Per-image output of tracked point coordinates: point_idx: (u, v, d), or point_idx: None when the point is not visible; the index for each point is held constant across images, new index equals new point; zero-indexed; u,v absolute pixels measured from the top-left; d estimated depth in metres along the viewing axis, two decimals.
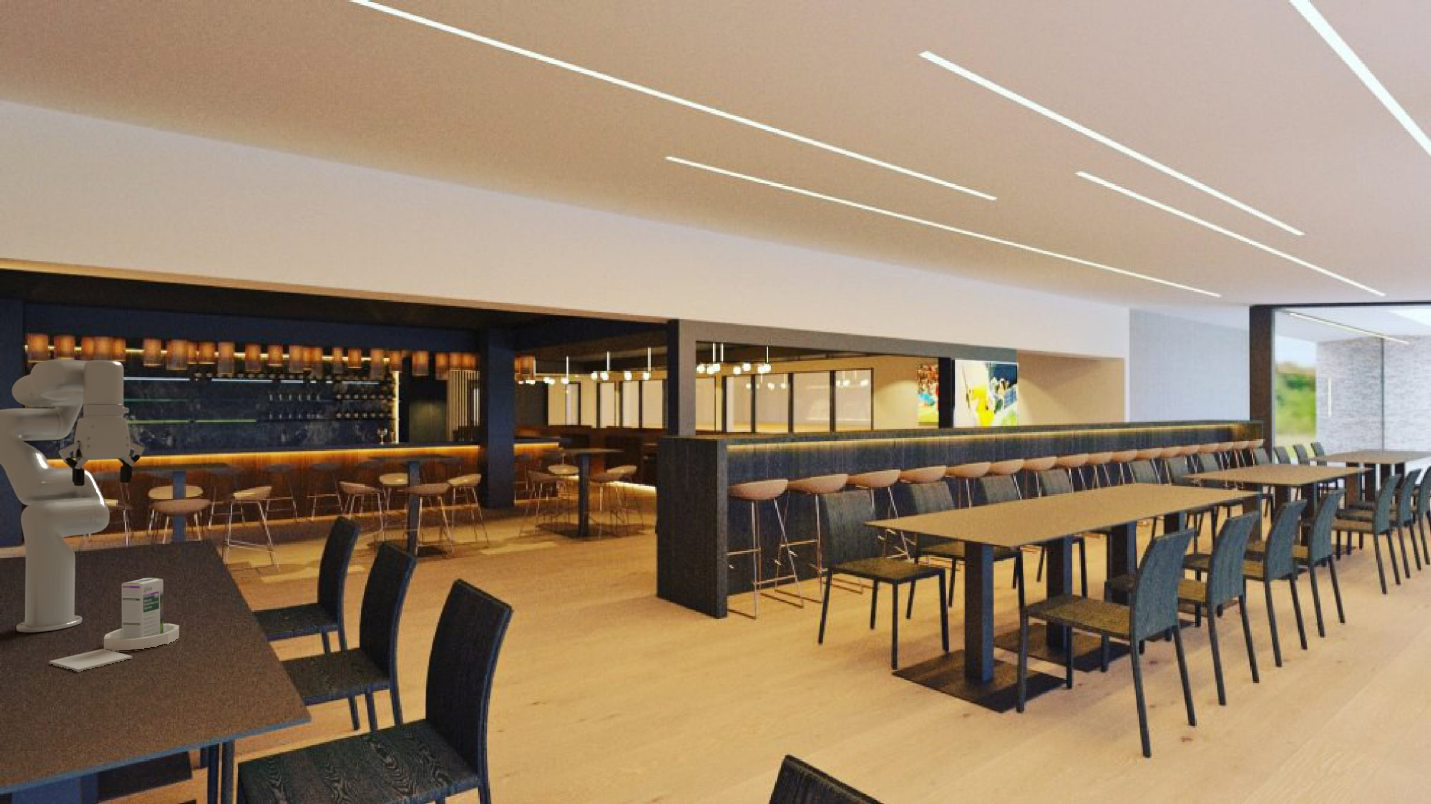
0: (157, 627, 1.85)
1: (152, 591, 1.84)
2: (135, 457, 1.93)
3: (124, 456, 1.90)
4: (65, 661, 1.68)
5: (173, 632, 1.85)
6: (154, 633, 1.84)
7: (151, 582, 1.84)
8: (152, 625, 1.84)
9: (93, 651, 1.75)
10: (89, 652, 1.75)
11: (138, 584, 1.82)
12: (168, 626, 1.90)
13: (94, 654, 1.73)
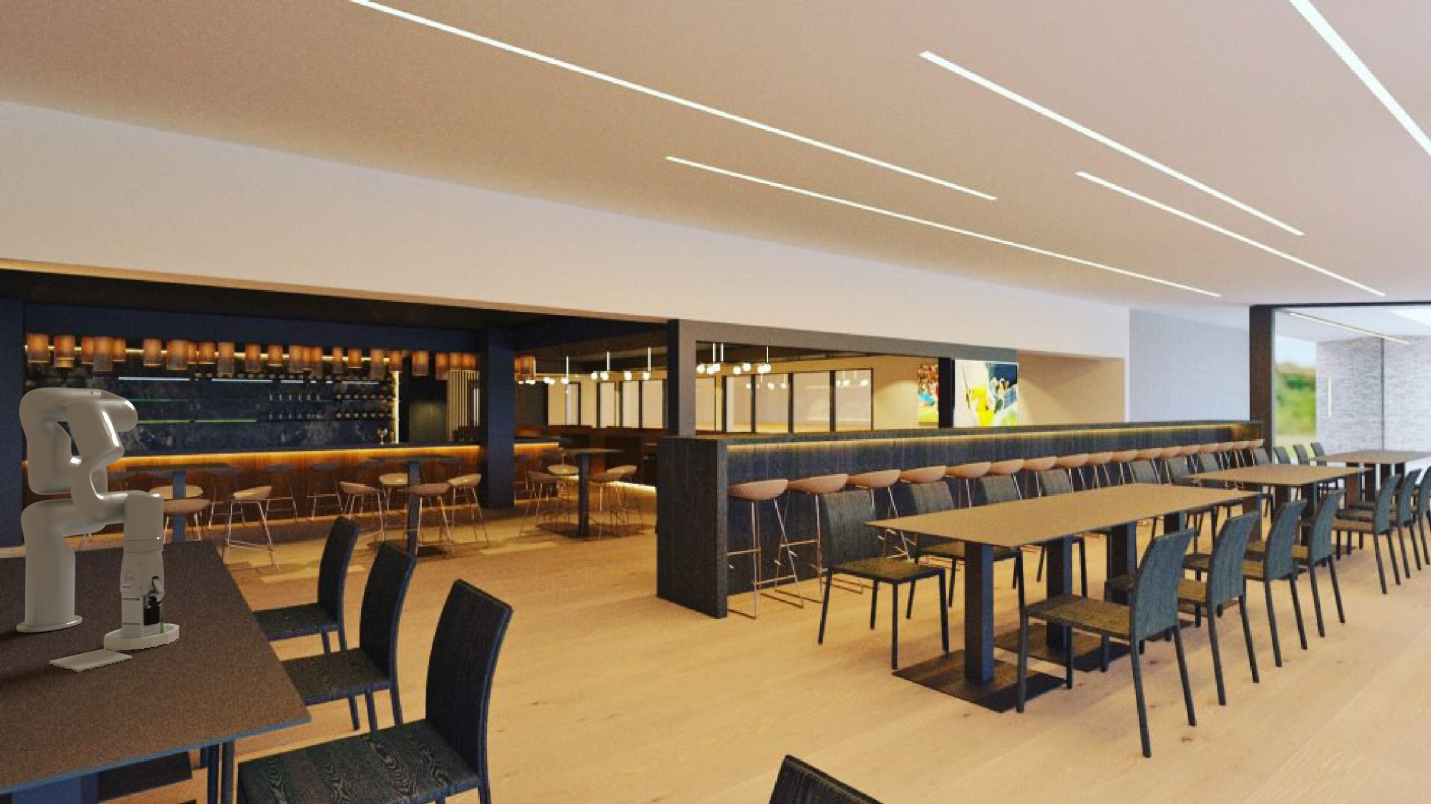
0: (157, 627, 1.85)
1: None
2: None
3: None
4: (65, 661, 1.68)
5: (173, 632, 1.85)
6: (154, 633, 1.84)
7: None
8: (152, 625, 1.84)
9: (93, 651, 1.75)
10: (89, 652, 1.75)
11: None
12: (168, 626, 1.90)
13: (94, 654, 1.73)
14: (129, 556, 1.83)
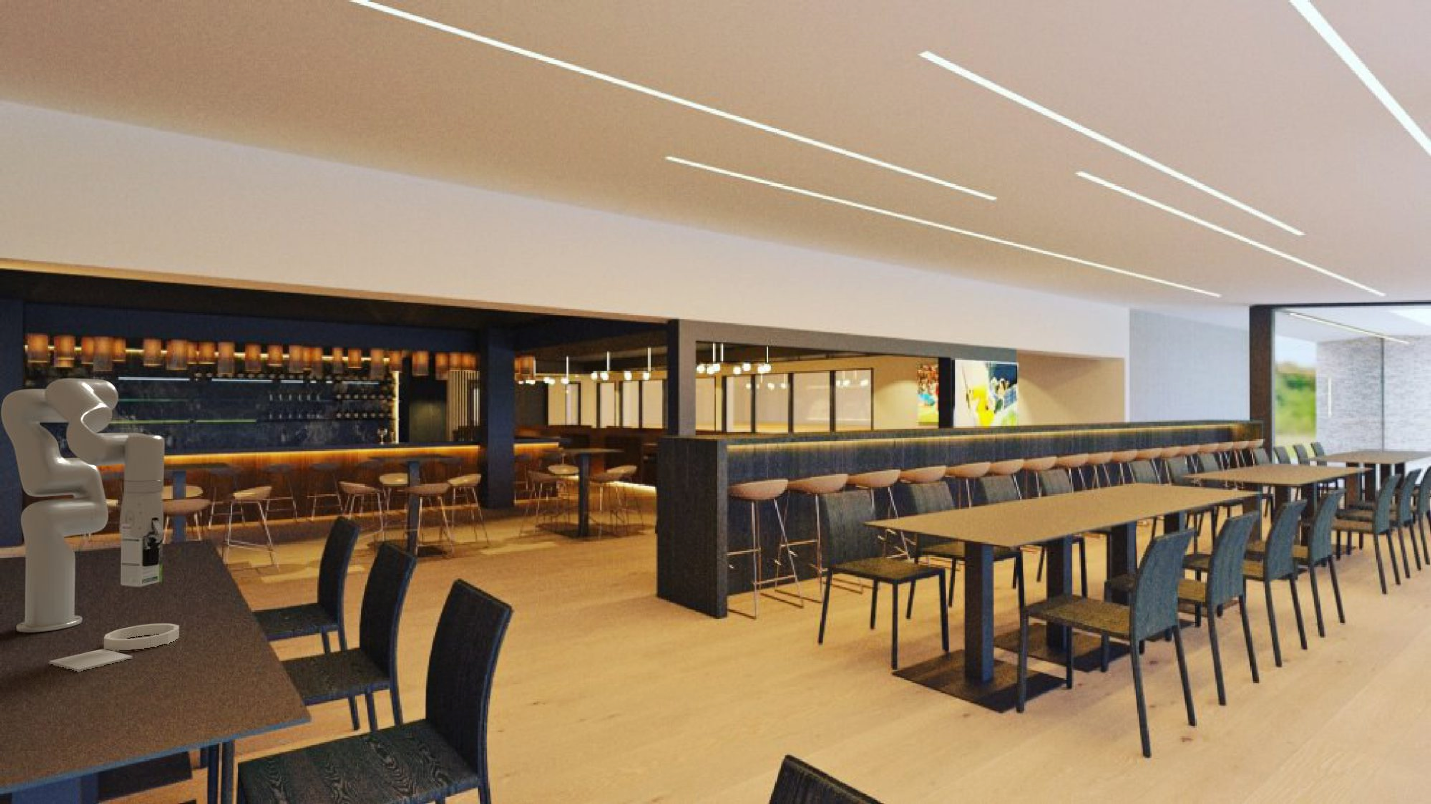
0: (156, 569, 1.85)
1: None
2: None
3: None
4: (65, 661, 1.68)
5: (173, 632, 1.85)
6: (153, 575, 1.85)
7: None
8: (151, 567, 1.84)
9: (93, 651, 1.75)
10: (89, 652, 1.75)
11: None
12: (168, 626, 1.90)
13: (94, 654, 1.73)
14: (129, 497, 1.83)
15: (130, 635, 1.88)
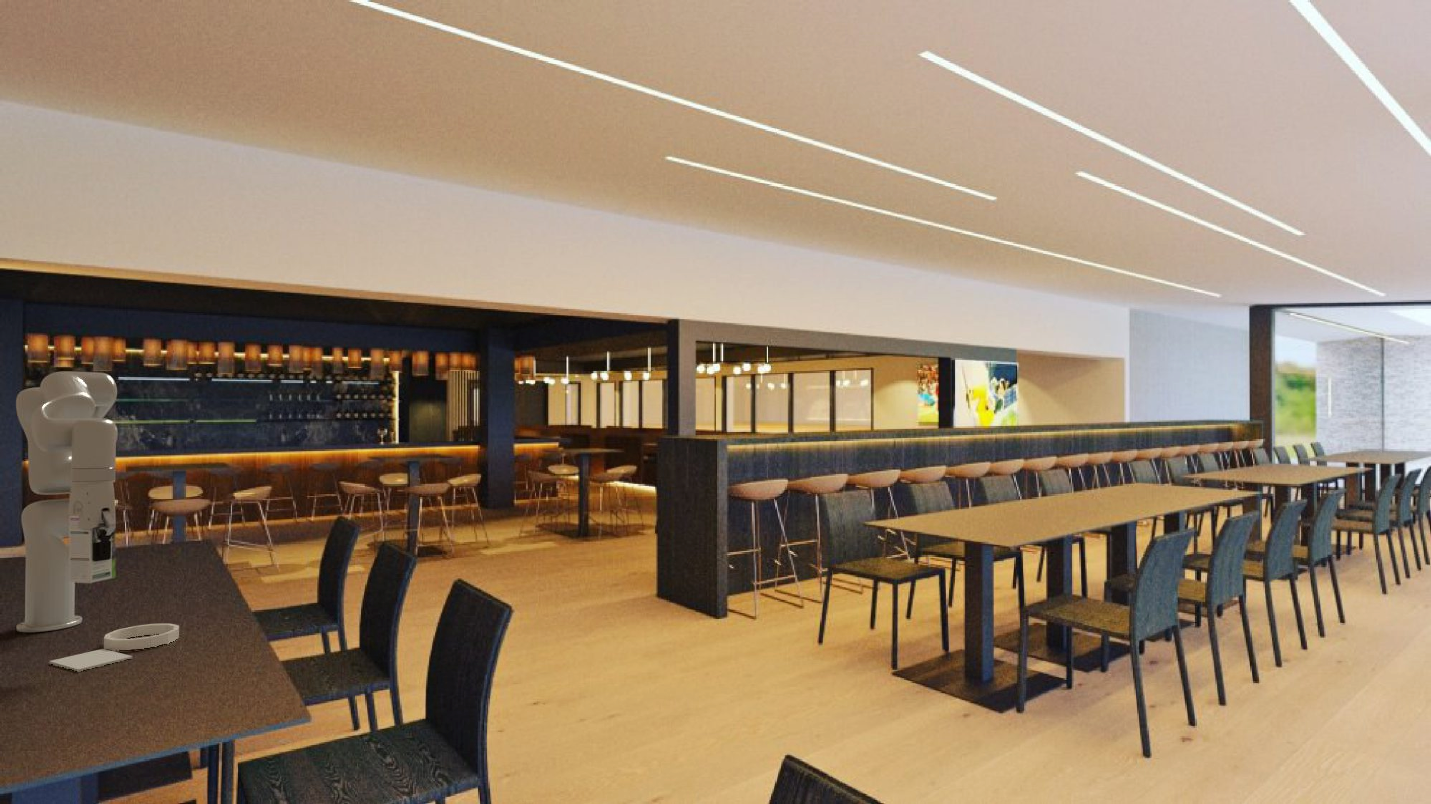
0: (108, 564, 1.71)
1: None
2: None
3: None
4: (65, 661, 1.68)
5: (173, 632, 1.85)
6: (105, 570, 1.70)
7: None
8: (103, 562, 1.70)
9: (93, 651, 1.75)
10: (89, 652, 1.75)
11: None
12: (168, 626, 1.90)
13: (94, 654, 1.73)
14: (77, 486, 1.69)
15: (130, 635, 1.88)
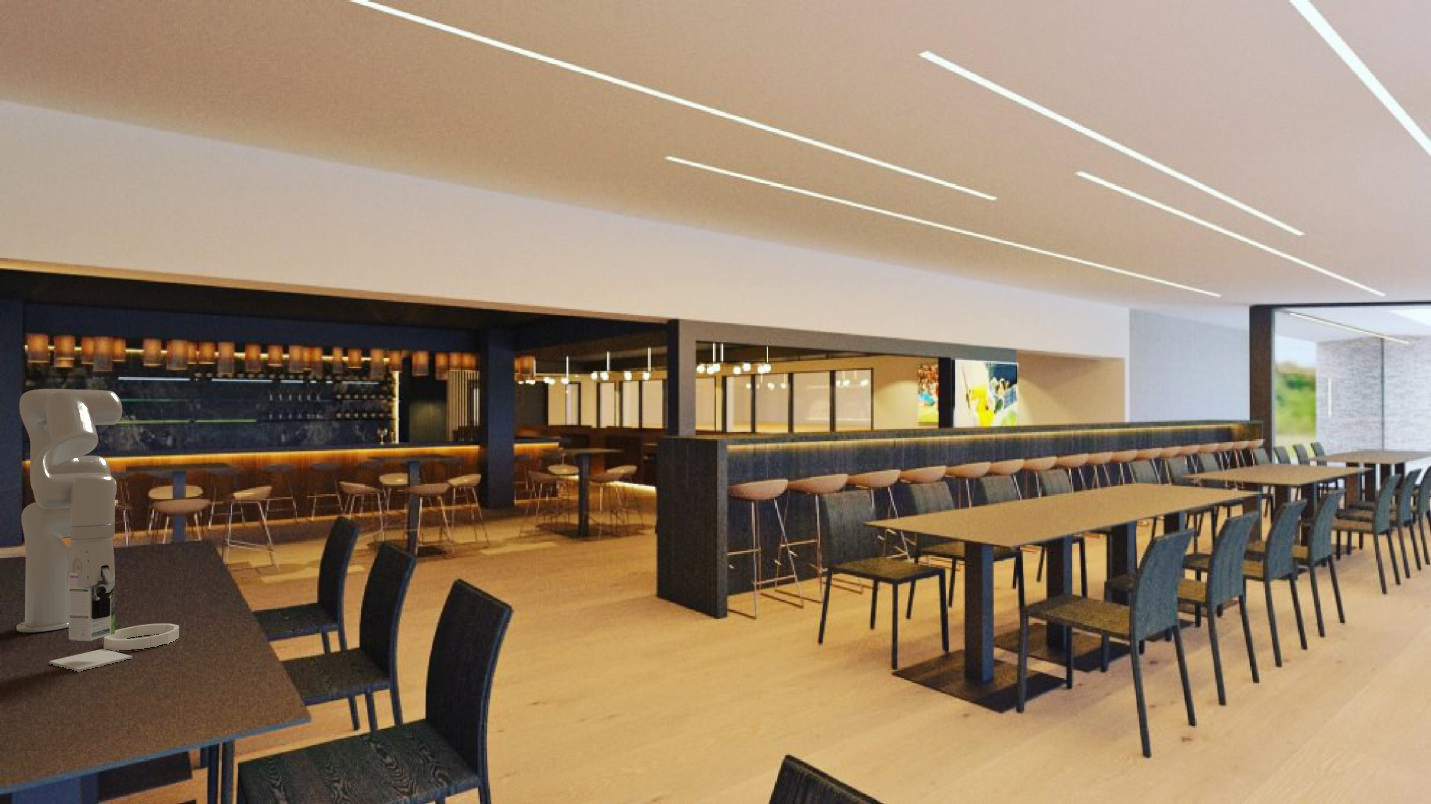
0: (108, 621, 1.71)
1: None
2: None
3: None
4: (65, 661, 1.68)
5: (173, 632, 1.85)
6: (104, 627, 1.70)
7: None
8: (102, 619, 1.70)
9: (93, 651, 1.75)
10: (89, 652, 1.75)
11: None
12: (168, 626, 1.90)
13: (94, 654, 1.73)
14: (76, 544, 1.68)
15: (130, 635, 1.88)
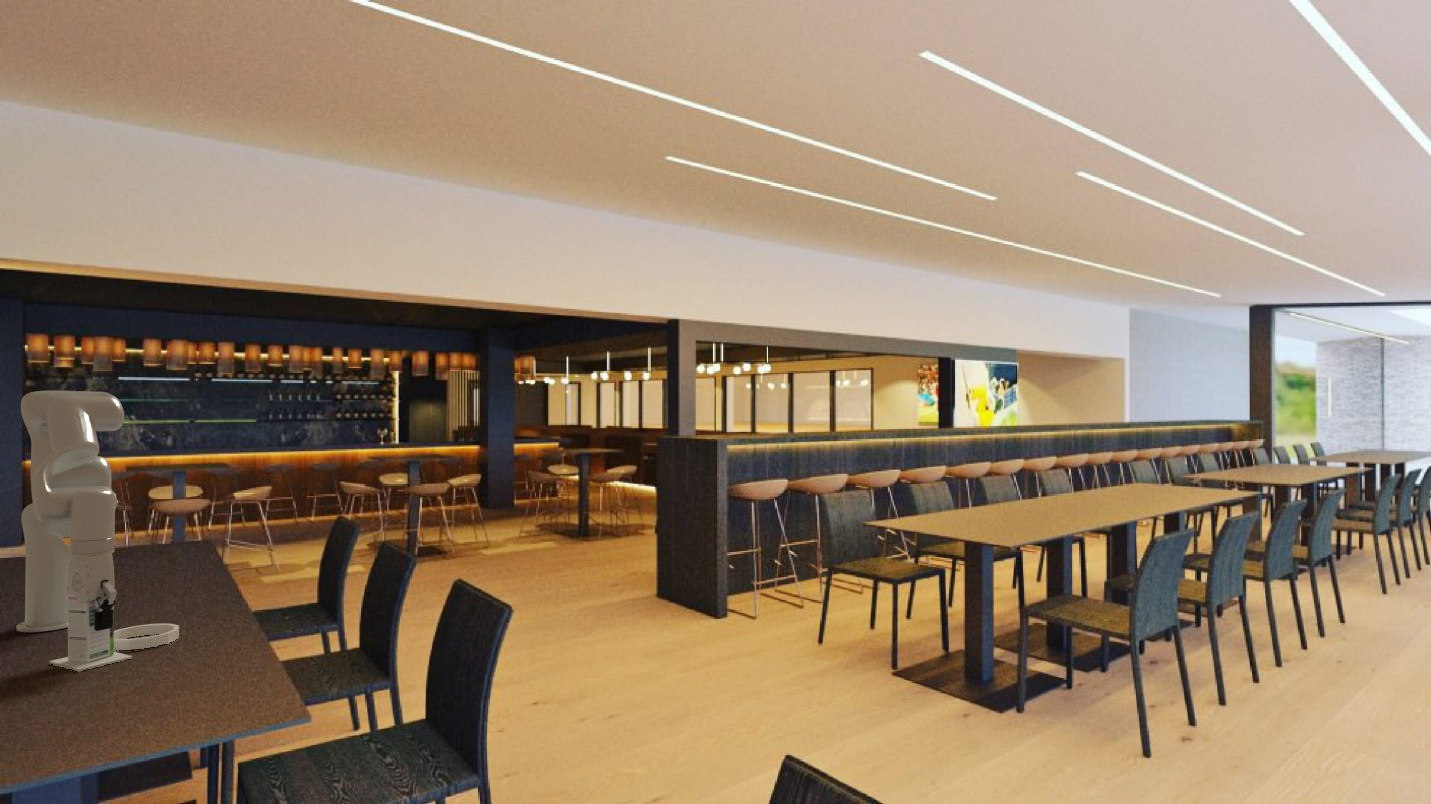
0: (106, 642, 1.71)
1: (100, 602, 1.70)
2: None
3: None
4: (65, 661, 1.68)
5: (173, 632, 1.85)
6: (102, 648, 1.70)
7: None
8: (100, 640, 1.70)
9: None
10: None
11: None
12: (168, 626, 1.90)
13: None
14: (76, 558, 1.68)
15: (130, 635, 1.88)
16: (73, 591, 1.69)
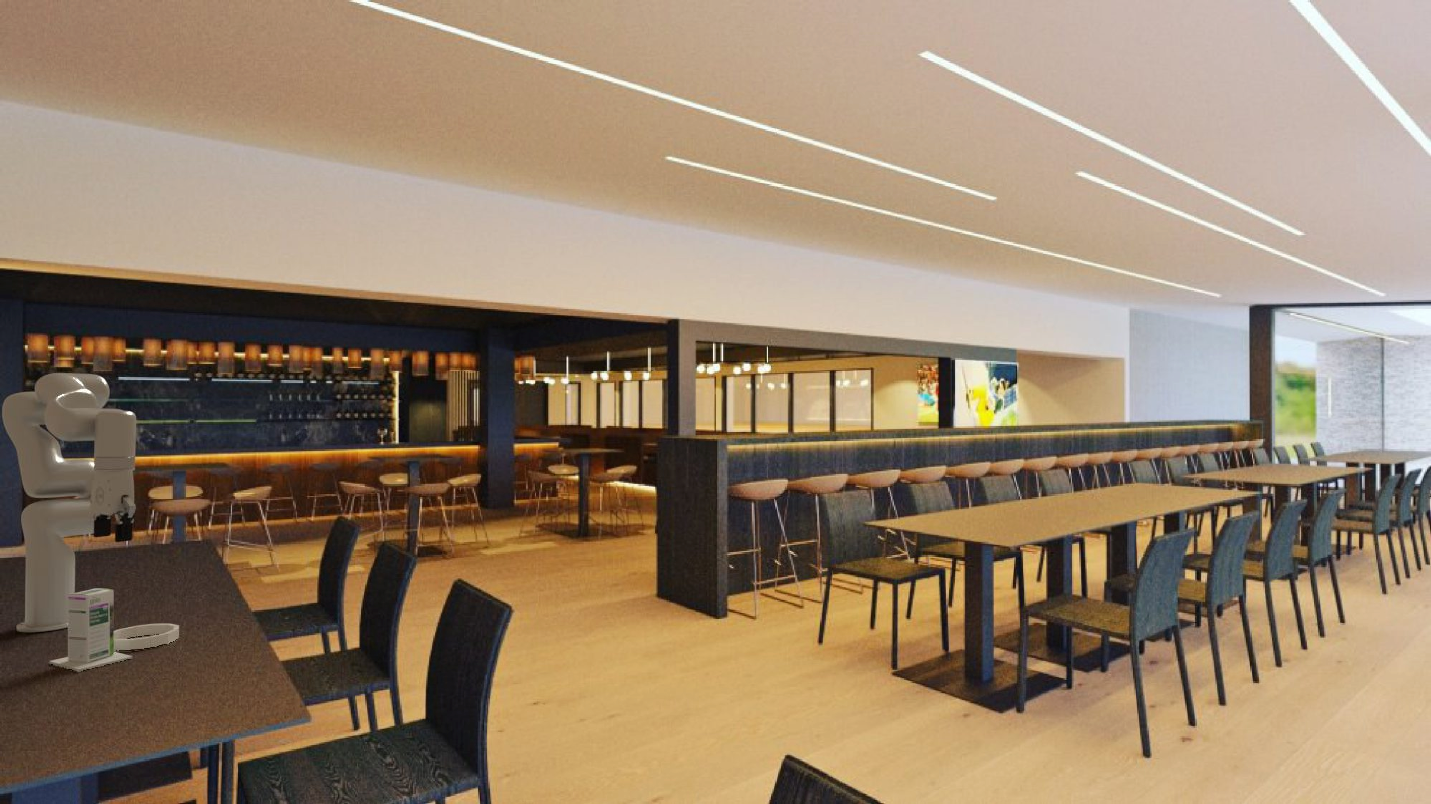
0: (106, 642, 1.71)
1: (100, 602, 1.70)
2: None
3: None
4: (65, 661, 1.68)
5: (173, 632, 1.85)
6: (102, 648, 1.70)
7: (99, 593, 1.70)
8: (100, 640, 1.70)
9: None
10: None
11: (84, 595, 1.68)
12: (168, 626, 1.90)
13: None
14: (99, 473, 1.79)
15: (130, 635, 1.88)
16: (96, 504, 1.79)
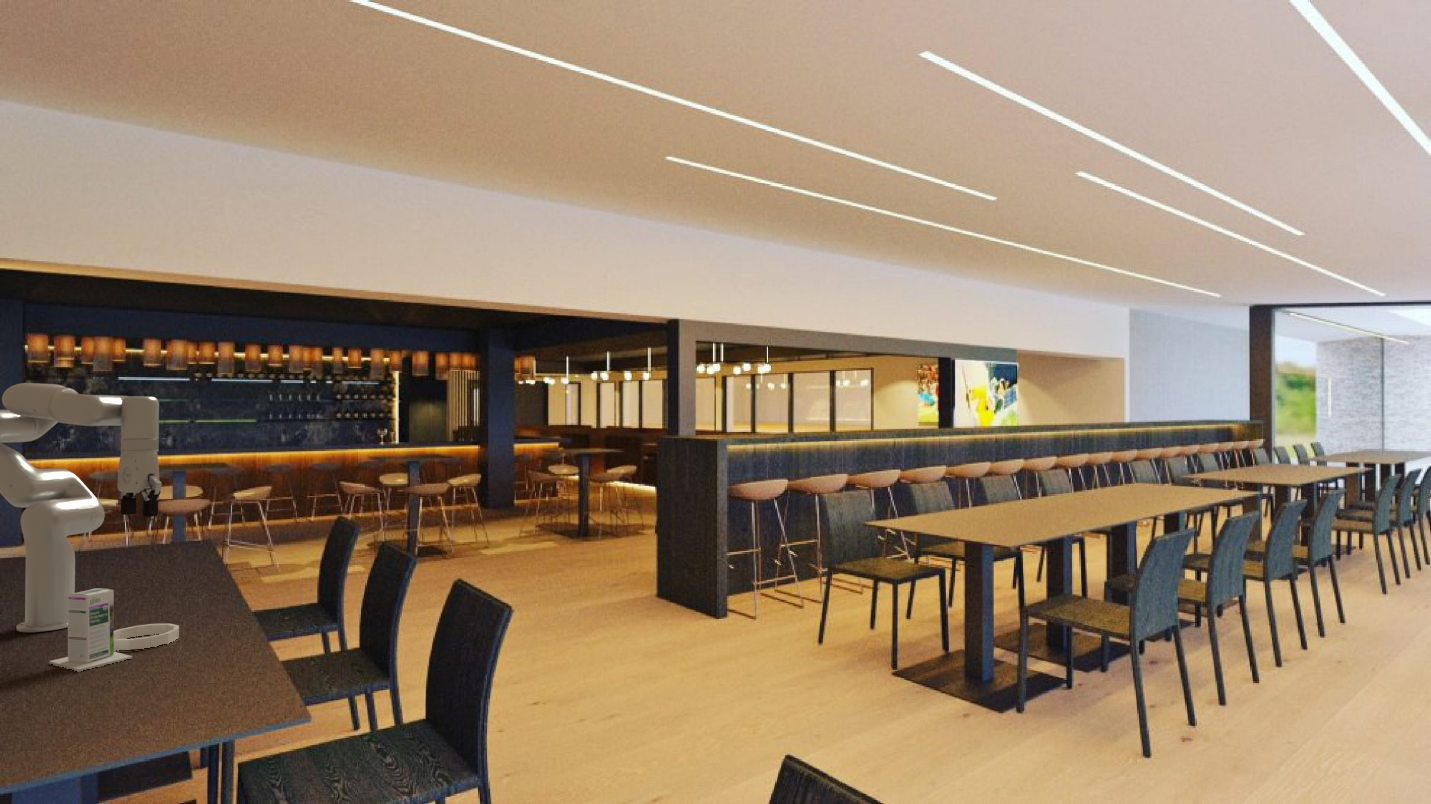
0: (106, 642, 1.71)
1: (100, 602, 1.70)
2: None
3: None
4: (65, 661, 1.68)
5: (173, 632, 1.85)
6: (102, 648, 1.70)
7: (99, 593, 1.70)
8: (100, 640, 1.70)
9: None
10: None
11: (84, 595, 1.68)
12: (168, 626, 1.90)
13: None
14: (126, 454, 1.93)
15: (130, 635, 1.88)
16: (123, 483, 1.93)
